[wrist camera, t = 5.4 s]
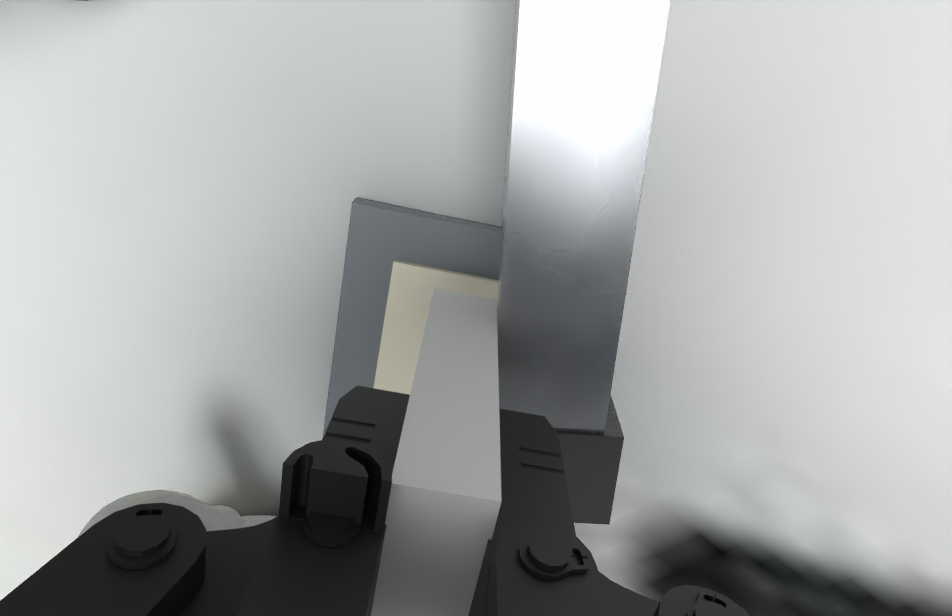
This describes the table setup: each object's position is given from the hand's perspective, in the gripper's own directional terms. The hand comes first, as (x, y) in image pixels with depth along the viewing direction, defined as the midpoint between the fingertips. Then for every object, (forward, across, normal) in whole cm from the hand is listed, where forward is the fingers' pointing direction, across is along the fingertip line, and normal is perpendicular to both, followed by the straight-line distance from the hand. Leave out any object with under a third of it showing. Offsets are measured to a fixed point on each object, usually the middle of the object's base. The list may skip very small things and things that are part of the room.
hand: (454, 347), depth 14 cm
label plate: (+5, 0, +2) cm, 5 cm away
